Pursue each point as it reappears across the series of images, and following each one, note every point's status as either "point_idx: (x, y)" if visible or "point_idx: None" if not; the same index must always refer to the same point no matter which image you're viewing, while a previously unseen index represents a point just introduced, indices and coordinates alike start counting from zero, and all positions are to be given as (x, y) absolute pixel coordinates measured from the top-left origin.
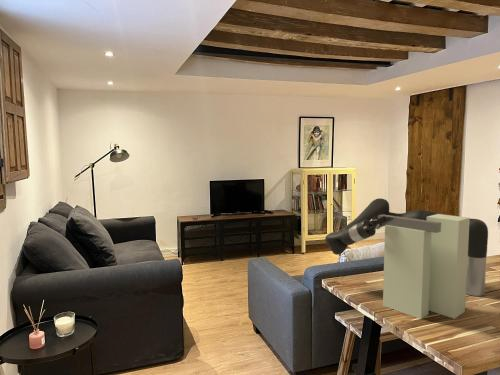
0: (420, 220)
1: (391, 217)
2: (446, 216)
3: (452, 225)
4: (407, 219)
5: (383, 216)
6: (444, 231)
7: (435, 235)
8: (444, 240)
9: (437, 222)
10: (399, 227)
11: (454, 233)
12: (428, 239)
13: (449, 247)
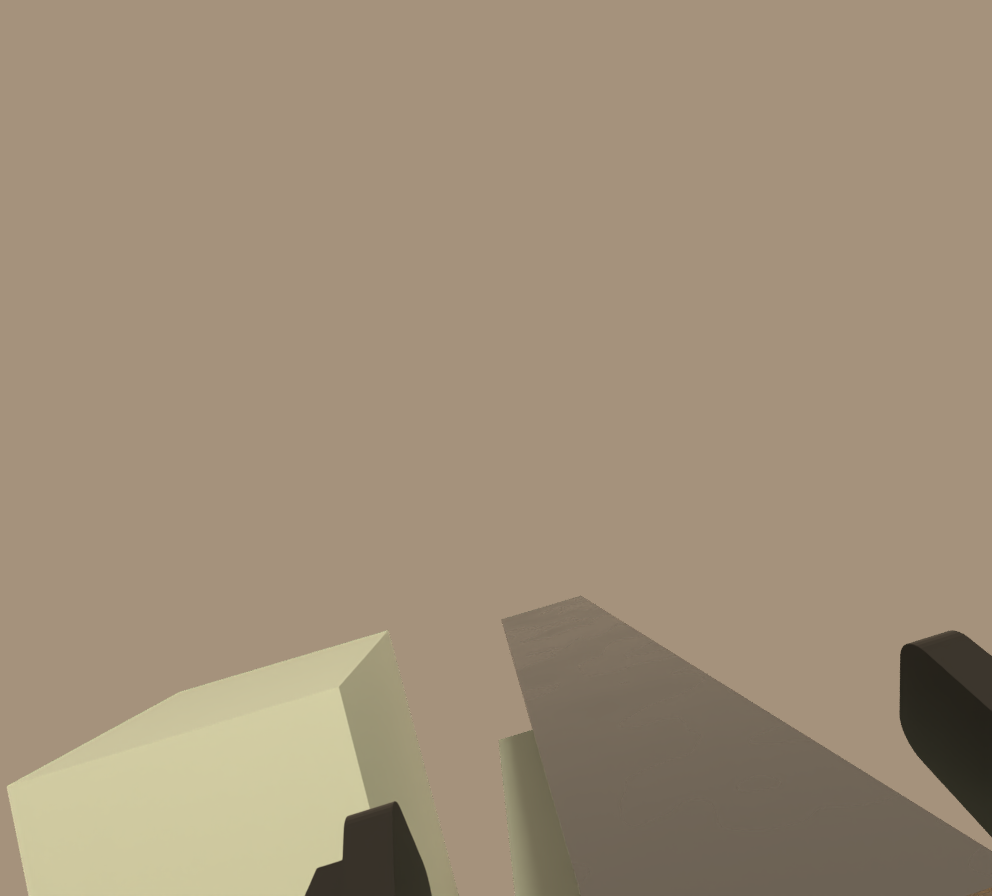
0: (565, 629)
1: (744, 704)
2: (196, 707)
3: (394, 683)
4: (644, 637)
5: (970, 642)
6: (405, 767)
7: None
8: (427, 857)
9: (528, 614)
10: None
11: (414, 743)
12: None
13: (446, 893)
